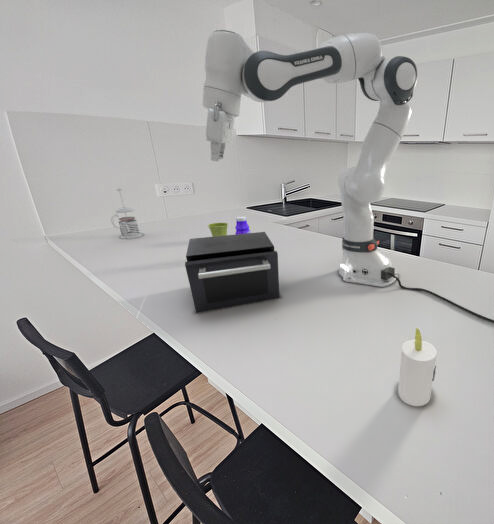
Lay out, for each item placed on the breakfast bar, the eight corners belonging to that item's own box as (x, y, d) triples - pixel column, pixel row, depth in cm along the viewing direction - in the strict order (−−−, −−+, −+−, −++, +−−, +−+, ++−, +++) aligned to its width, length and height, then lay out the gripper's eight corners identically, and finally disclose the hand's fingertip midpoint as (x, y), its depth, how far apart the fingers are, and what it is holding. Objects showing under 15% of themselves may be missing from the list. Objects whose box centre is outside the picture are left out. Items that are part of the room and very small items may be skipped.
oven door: (282, 305, 92) (280, 260, 83) (196, 321, 83) (184, 273, 74) (278, 295, 96) (276, 250, 87) (196, 309, 87) (185, 261, 78)
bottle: (247, 259, 128) (242, 219, 122) (235, 257, 129) (230, 218, 123) (255, 253, 134) (251, 215, 128) (244, 252, 136) (239, 215, 129)
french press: (146, 235, 160) (134, 188, 151) (121, 240, 151) (107, 190, 142) (137, 232, 165) (125, 186, 156) (112, 237, 155) (98, 188, 146)
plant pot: (211, 239, 154) (209, 223, 151) (230, 237, 157) (228, 221, 154) (209, 244, 146) (206, 227, 143) (229, 243, 149) (227, 226, 146)
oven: (278, 295, 97) (274, 246, 90) (196, 310, 87) (185, 256, 81) (268, 275, 112) (264, 231, 106) (198, 285, 103) (189, 238, 97)
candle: (429, 410, 55) (439, 343, 49) (394, 400, 57) (400, 334, 51) (433, 387, 60) (442, 324, 55) (401, 378, 62) (407, 316, 57)
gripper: (230, 104, 68) (225, 165, 73) (237, 111, 87) (233, 160, 91) (200, 95, 66) (197, 159, 71) (214, 105, 85) (210, 155, 89)
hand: (217, 159), depth 81 cm, fingers open, 8 cm apart
